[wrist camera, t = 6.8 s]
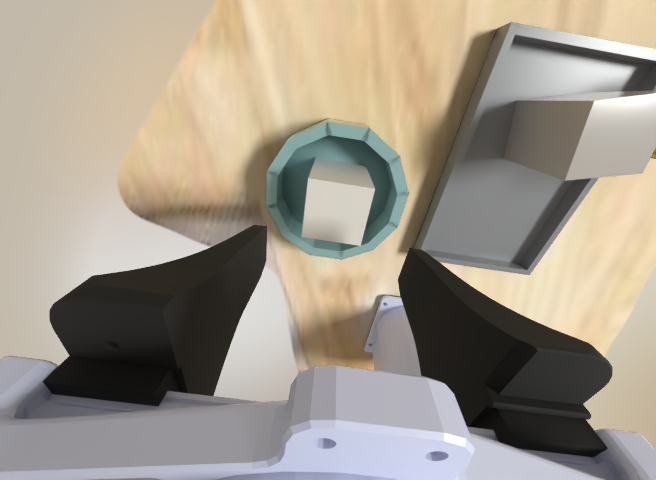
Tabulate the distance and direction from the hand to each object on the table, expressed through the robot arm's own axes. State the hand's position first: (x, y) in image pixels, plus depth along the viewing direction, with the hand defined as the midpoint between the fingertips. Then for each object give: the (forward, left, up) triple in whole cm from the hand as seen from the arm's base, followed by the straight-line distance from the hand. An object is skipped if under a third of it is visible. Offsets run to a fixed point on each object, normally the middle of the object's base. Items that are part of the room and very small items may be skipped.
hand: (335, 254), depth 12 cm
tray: (+4, -14, -10) cm, 18 cm away
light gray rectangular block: (+7, -14, -10) cm, 19 cm away
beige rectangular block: (+1, 0, -10) cm, 10 cm away
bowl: (0, 0, -10) cm, 10 cm away
